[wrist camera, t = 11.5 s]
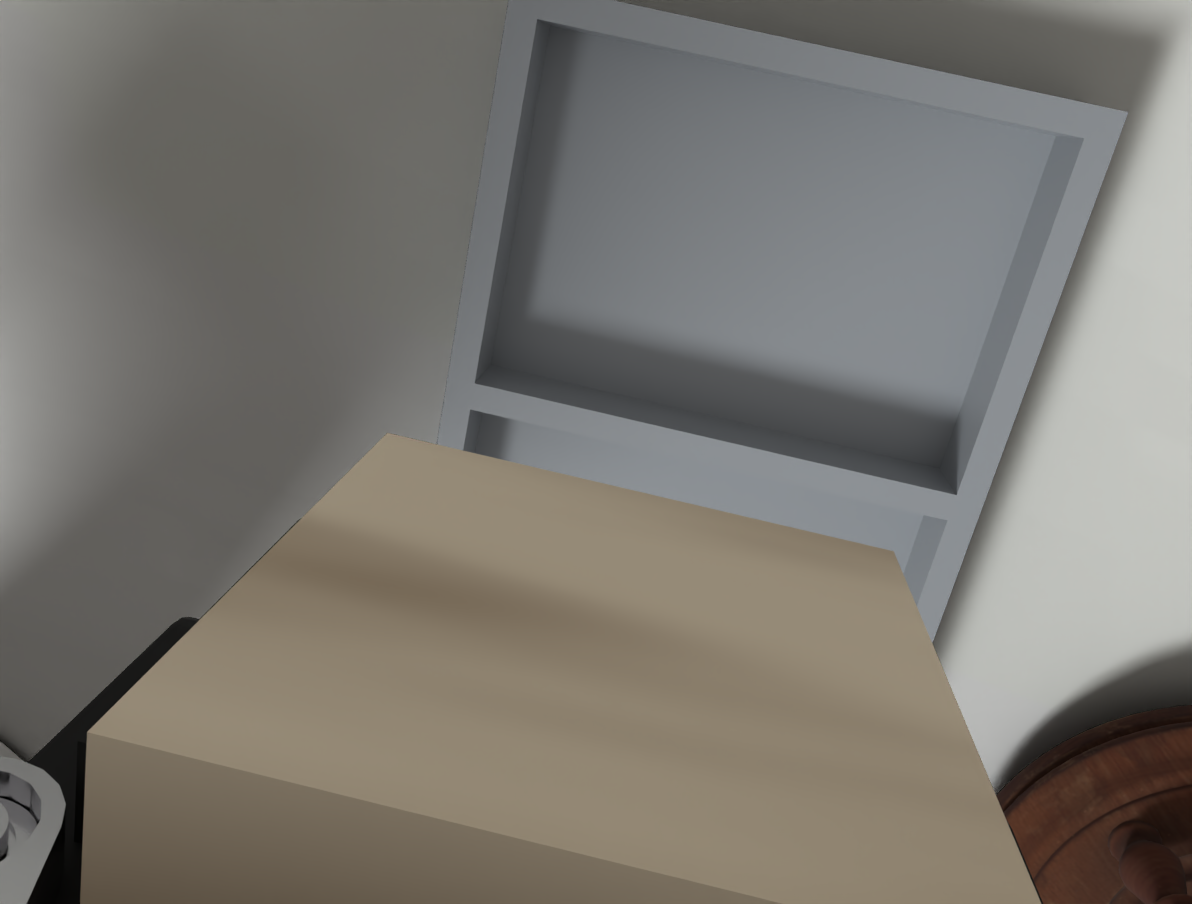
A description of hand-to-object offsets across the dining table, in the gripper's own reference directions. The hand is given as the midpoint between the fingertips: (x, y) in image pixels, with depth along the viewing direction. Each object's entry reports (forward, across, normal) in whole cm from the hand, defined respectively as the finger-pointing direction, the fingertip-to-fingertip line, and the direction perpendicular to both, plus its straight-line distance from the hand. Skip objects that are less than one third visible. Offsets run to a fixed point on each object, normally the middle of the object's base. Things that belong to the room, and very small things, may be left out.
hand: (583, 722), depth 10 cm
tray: (+21, -2, +3) cm, 22 cm away
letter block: (0, 0, 0) cm, 0 cm away
